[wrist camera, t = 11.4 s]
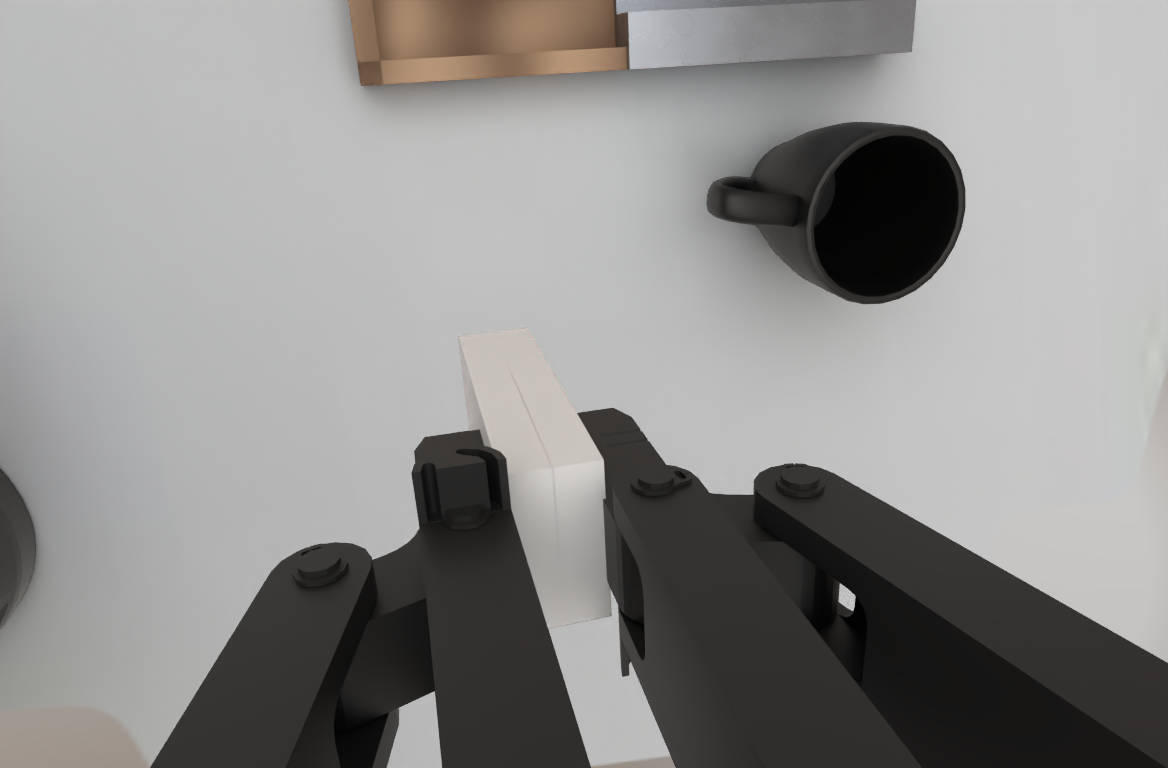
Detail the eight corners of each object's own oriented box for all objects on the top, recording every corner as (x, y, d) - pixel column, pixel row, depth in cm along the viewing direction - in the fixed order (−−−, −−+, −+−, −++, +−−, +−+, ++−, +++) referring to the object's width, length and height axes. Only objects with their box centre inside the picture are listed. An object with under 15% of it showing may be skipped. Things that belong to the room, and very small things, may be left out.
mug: (674, 95, 43) (750, 101, 34) (873, 125, 46) (989, 138, 37) (649, 249, 45) (713, 292, 37) (839, 268, 48) (939, 311, 40)
